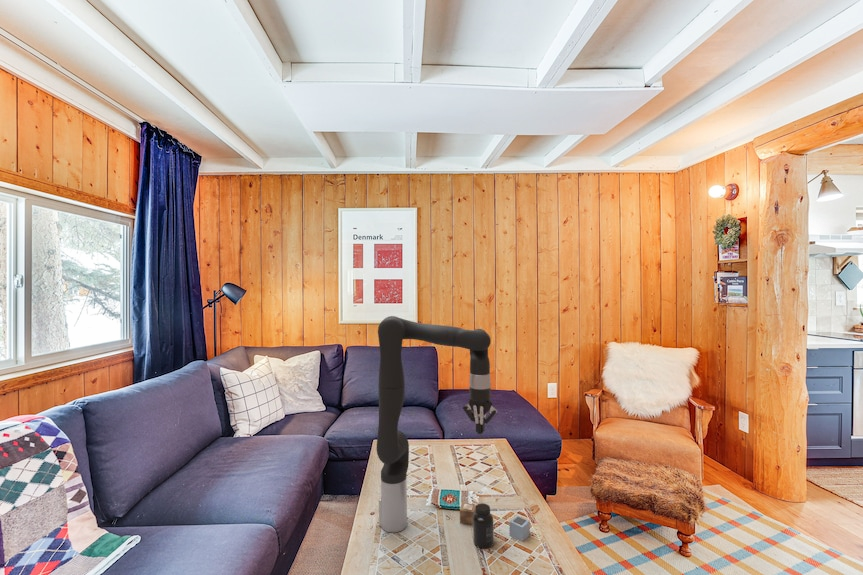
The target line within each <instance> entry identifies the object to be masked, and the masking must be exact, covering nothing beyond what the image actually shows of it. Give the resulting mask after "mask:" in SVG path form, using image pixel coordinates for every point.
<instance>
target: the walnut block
mask: <svg viewBox="0 0 863 575" xmlns="http://www.w3.org/2000/svg"><path fill="white" fill-rule="evenodd" d="M476 505H477V504H475V503H468V502H462V504H461V506H460V509H459V524H461V523H462V525H466V524H467V525H468V526H472V525H473V516H474V514H475V513H476Z"/></svg>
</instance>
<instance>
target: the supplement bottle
mask: <svg viewBox="0 0 863 575" xmlns="http://www.w3.org/2000/svg"><path fill="white" fill-rule="evenodd" d="M490 507H491V506H490V505H489V504H487V503H484V502H483V503H482V502H481V503H478V504H476V513H475V514H474V516H473V526H472V531H473V532H472V534H473V536H472V538H473V543H474V545H475V546H476V547H478V548H481V549H488V548H491V547H492V546H493V545H494V541H495V540H494V539H495V538H494V537H495V536H494V528H495V527H494V516H493V515H492V513H491V508H490Z"/></svg>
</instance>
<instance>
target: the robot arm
mask: <svg viewBox="0 0 863 575" xmlns="http://www.w3.org/2000/svg"><path fill="white" fill-rule="evenodd" d="M377 337H378V343H379V346H378V347H379V356H380V357H379V358H380V359H379V368H378V371H379V372H378V428H377V436H376V455H377V457H378V459H379V461H380V462H381V463H383V466H382V468H381V470H380V496H381V497H380V498H379V499H378V526H379V527H381V528H382V529H383V531H385V532H387V533H398V532H399V533H400V532H402V531H403V530H405V529H406V527H407V526H408V494H407V493H408V492H407V491H408V490H407V487H408V486H407V484H408V483H407V480H408V479H407V475H408V474H407V472H408V469H409V461H410V460H409V459H410V444H409V439H408V437H407V436H406V434H405V433H404V432H403V431H402V430H398V429H399V420H400V417H401V413H402V410H403V406H404V402H405V396H406V393H405V391H406V389H405V388H406V387H405V383H406V382H405V375H404V374H405V373H404V367H403V360H402V350H403V340H416V341H422V342H427V343H430V344H433V345H438V346H445V347H454V348H455V347H456V348H462V349H466V350H469V357H470V359H469V360H470V361H469V382H468V383H469V400H468V401H467V402H468V403H467V404H465V405H464V406H463V407H462V409H463V411H464V412H465V414H466V415H467V416H468V418H469V420H470V421H471V422H473V423H475V432H476V433H477V434H478V435H483V434H484V433H485V430H486V429H485V428H486V425H485V424H488V423H489V422H490V421H491V420H492V418H494V417H495V415H496V414H497V413H498V411H499V410H498V409H497V408H495V407H494V406H493V402H492V399H491V398H492V395H491V394H492V393H491V392H492V391H491V390H492V389H491V387H492V383H491V372H490V371H491V364H490V358H489V347H490V346H491V342H492V341H491V336H490V335H489V333H487V331H485V330H484V329H482V328H476V329H473V330H472V329H465V328H461V327H457V326H452V325H451V326H449V325H440V324H428V323H421V322H417V321H416V322H415V321H412V320H407V319H404V318H401V317H398V316H395V315H391V316H387V317H385V318H383V320H381V322H380V323H379V324H378V328H377ZM488 412H489V413H490V414H489V415H488V416H487V413H488ZM486 416H487V417H486Z"/></svg>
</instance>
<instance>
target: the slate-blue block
mask: <svg viewBox="0 0 863 575" xmlns="http://www.w3.org/2000/svg"><path fill="white" fill-rule="evenodd" d="M530 525H531V524H530V519H527V518H525V517H523V516H520V515H518V514H516V515H515V516H514V517H512V519H511V520H509V536H510V537H512V538H514V539H516V540H518V541H520V542H522V543H523V542H524V541H525V540H526V539H527V538H528V537H529V536H530V535H531V534H530V531H531V530H530V529H531V527H530Z"/></svg>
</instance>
